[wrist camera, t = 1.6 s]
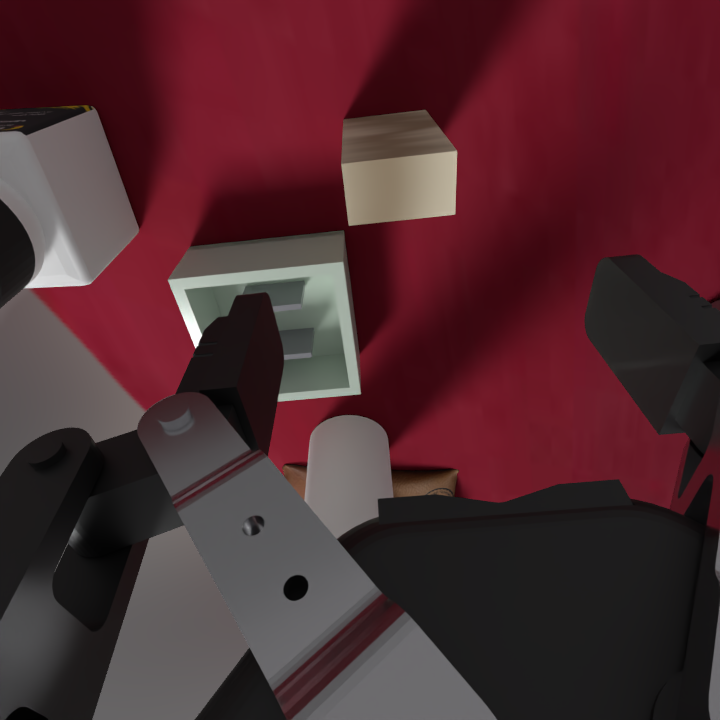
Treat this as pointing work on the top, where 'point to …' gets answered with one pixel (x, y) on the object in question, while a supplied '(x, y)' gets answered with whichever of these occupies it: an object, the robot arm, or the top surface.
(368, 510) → the cylindrical container
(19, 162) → the medicine bottle
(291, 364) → the open box
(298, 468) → the sunglasses case
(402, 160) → the beige wooden block
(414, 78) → the top surface
